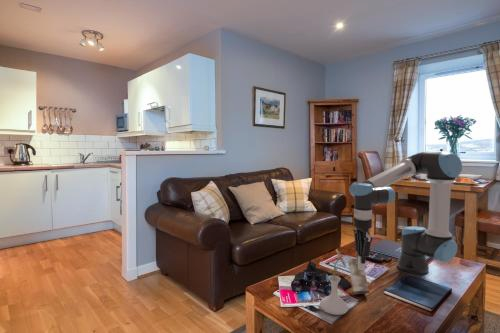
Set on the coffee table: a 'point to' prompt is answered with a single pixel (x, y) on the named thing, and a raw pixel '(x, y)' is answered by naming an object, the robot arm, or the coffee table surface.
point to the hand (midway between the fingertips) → (361, 269)
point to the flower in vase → (334, 294)
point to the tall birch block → (357, 277)
